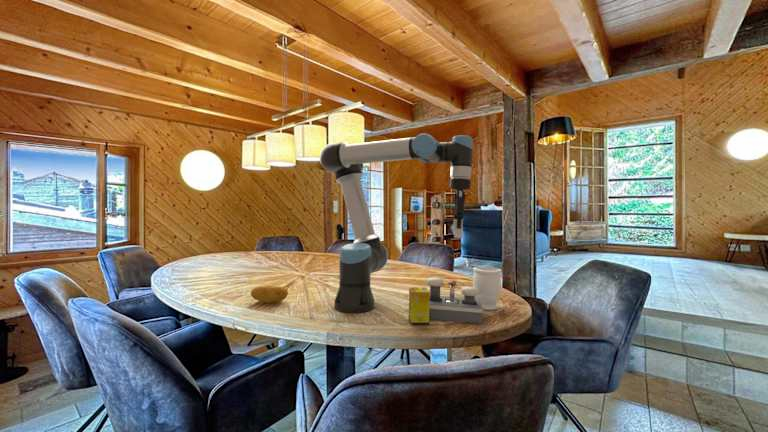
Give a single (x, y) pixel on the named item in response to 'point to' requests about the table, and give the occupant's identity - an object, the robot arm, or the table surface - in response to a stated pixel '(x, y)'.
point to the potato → (269, 294)
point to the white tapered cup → (487, 286)
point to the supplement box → (419, 305)
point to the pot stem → (452, 291)
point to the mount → (455, 310)
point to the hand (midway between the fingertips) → (457, 236)
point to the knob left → (435, 287)
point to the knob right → (469, 294)
